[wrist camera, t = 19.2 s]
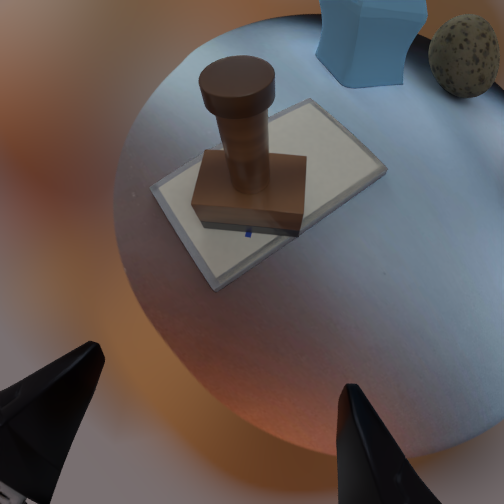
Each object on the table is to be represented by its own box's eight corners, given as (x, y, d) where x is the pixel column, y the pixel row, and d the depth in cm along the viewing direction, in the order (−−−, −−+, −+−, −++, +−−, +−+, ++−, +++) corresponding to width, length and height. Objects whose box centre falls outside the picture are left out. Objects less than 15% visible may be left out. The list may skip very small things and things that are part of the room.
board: (215, 292, 24) (213, 290, 23) (152, 192, 27) (148, 187, 26) (385, 174, 26) (388, 168, 25) (309, 103, 30) (309, 97, 29)
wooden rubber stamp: (298, 237, 24) (323, 114, 10) (203, 228, 25) (141, 111, 11) (302, 185, 25) (320, 53, 12) (214, 178, 26) (173, 52, 13)
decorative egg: (485, 121, 29) (528, 55, 15) (430, 102, 30) (468, 19, 16) (463, 78, 32) (492, 16, 18) (411, 60, 33) (434, -12, 19)
